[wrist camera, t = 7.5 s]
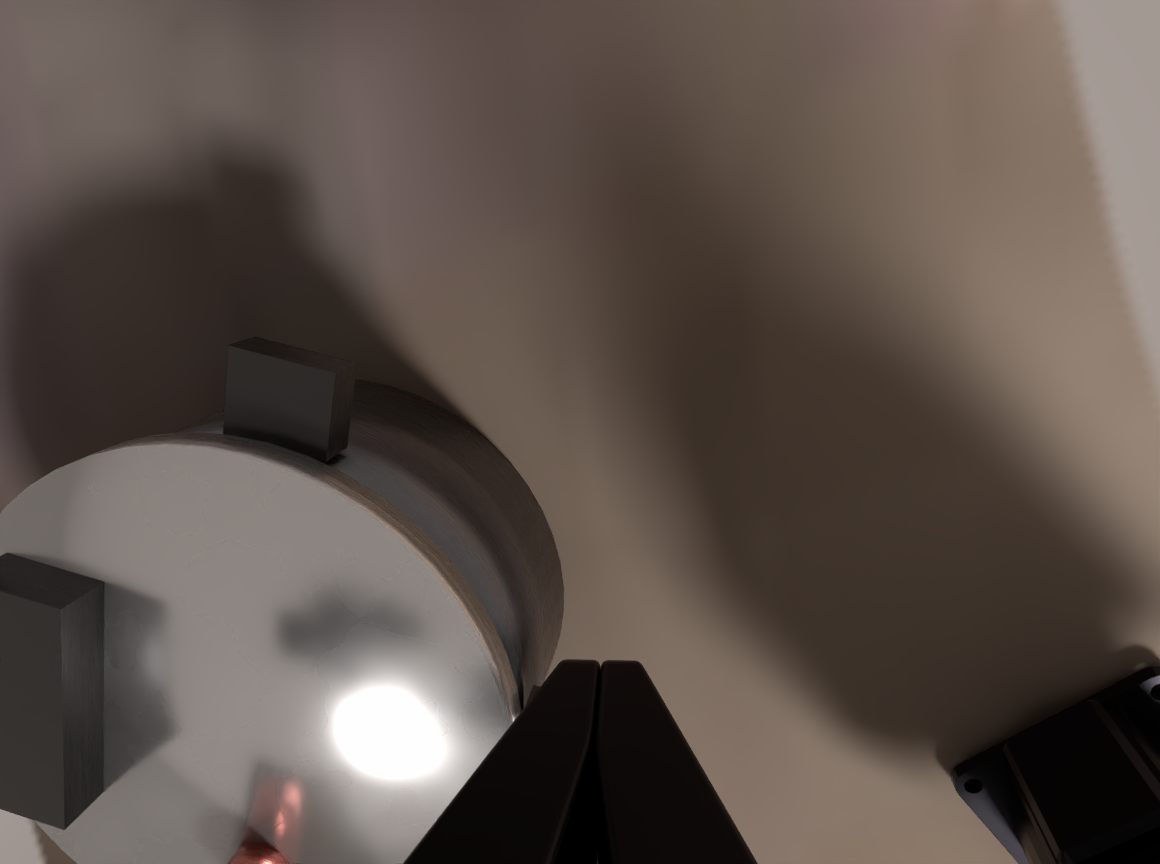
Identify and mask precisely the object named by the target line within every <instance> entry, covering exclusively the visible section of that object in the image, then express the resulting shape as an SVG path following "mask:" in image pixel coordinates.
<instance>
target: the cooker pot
mask: <svg viewBox="0 0 1160 864" xmlns="http://www.w3.org/2000/svg"><path fill="white" fill-rule="evenodd" d="M356 368H357V363H355V362H351V361H347V360H343V359H339V358H336V357H332V356H328V355H324V354H320V353H316V352H312V351H309V350H305V349H301V348H297V347H293V346H289V345H285V344H281V343H278V342H274V341H270V340H266V339H262V338H258V337H253V338H250V339H247V340H244V341H241V342H237V343H234V344H231V345H228V357H227V374H226V391H225V408H224V411H222V412H220V413H217V414H215V415H213V416H211V417H208V418H206V419H204V420H202V421H199V422H197V423H195V424H193V425H190V426H188V427H186V428H184V429H181V430H179V431H177V432H175V433H184V432H200V433H214V434H228V435H234V436H239V437H244V438H249V439H254V440H259V441H264V442H269V443H272V444H275V445H278V446H280V447H283V448H286V449H289V450H292V451H295V452H298V453H301V454H304V455H307V456H309V457H311V458H314V459H316V460H318V461H320V462H322V463H324V464H326V465H328V466H330V467H333V468H335V469H337V470H339V471H341V472H343V473H345V474H347V475H348V476H350V477H352V478H353V479H355V480H356V481H358V482H360V483H361V484H363V485H364V486H366V487H368V488H369V489H371V490H372V491H374V492H376V493H377V494H379V495H380V496H382V497H383V498H384V499H386V500H387V501H388V502H389V503H391V504H392V505H393V506H394V507H396V508H397V509H398V510H399V511H401V512H402V513H403V514H405V515H406V516H407V517H408V518H410V519H411V520H412V521H413V522H415V523H416V524H417V525H418V526H419V527H420V528H421V529H422V530H423V531H424V532H425V533H426V534H427V535H428V536H429V537H430V538H431V539H432V540H433V541H434V542H435V543H436V544H437V545H438V546H439V547H440V548H441V549H442V550H443V551H444V552H445V554H446V555H447V556H448V557H449V559H450V560H451V561H452V562H453V564H454V565H455V566H456V567H457V569H458V570H459V571H460V573H461V574H462V575H463V576H464V578H465V579H466V580H467V581H468V583H469V584H470V585H471V587H472V589H473V590H474V592H475V593H476V595H477V597H478V598H479V600H480V602H481V603H482V605H483V606H484V608H485V610H486V611H487V613H488V615H489V616H490V618H491V620H492V622H493V624H494V626H495V629H496V631H497V633H498V635H499V637H500V639H501V642H502V644H503V646H504V648H505V650H506V653H507V656H508V659H509V662H510V666H511V669H512V672H513V675H514V679H515V682H516V685H517V689H518V695H519V701H520V708H521V711H522V710H523V709H524V707H525V706H526V705H527V704H528V702H529V701H530V700H531V698H532V697H533V696H534V695H535V693H536V692H537V691H538V689H539V688H540V687H541V686H542V684H543V683H544V681H545V678H546V676H547V673H548V670H549V667H550V665H551V662H552V659H553V656H554V653H555V650H556V647H557V644H558V640H559V637H560V632H561V625H562V619H563V610H564V586H563V579H562V572H561V564H560V559H559V556H558V552H557V549H556V545H555V541H554V538H553V535H552V533H551V530H550V528H549V525H548V523H547V521H546V518H545V516H544V514H543V511H542V509H541V508H540V506H539V504H538V503H537V501H536V499H535V497H534V496H533V494H532V492H531V491H530V489H529V487H528V486H527V484H526V483H525V482H524V480H523V479H522V478H521V476H520V475H519V474H518V472H517V471H516V470H515V468H514V467H513V466H512V464H511V463H510V462H509V461H508V460H507V459H506V458H505V457H504V456H503V455H502V454H501V453H500V452H499V451H498V450H497V449H496V448H495V447H494V446H493V445H492V444H491V442H489V441H488V440H487V439H486V438H485V437H483V436H482V435H481V434H480V433H478V432H477V431H476V430H475V429H473V428H472V427H471V426H470V425H469V424H467V423H466V422H464V421H463V420H461V419H460V418H458V417H456V416H455V415H453V414H452V413H450V412H448V411H447V410H445V409H444V408H442V407H440V406H438V405H436V404H434V403H432V402H430V401H427V400H425V399H423V398H421V397H419V396H417V395H415V394H412V393H409V392H406V391H403V390H399V389H396V388H393V387H390V386H387V385H382V384H377V383H372V382H366V381H361V380H355V377H356Z"/></svg>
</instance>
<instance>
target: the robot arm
mask: <svg viewBox="0 0 1160 864" xmlns="http://www.w3.org/2000/svg"><path fill="white" fill-rule="evenodd" d="M1157 684H1160V667H1149V668H1146V669H1143V670H1141V671H1139V672H1137V673H1135V674H1133V675H1131V676H1129V677H1127V678H1125V679H1123V680H1121V681H1119V682H1117V683H1115V684H1114V685H1112V686H1110V687H1108V688H1106V689H1104V690H1102V691H1100V692H1098V693H1096V694H1094V695H1092V696H1090V697H1088V698H1086V699H1084V700H1083V701H1081V702H1079V703H1077V704H1075V705H1073V706H1071V707H1069V708H1067V709H1065V710H1063V711H1061V712H1059V713H1057V714H1055V715H1053V716H1052V717H1050V718H1048V719H1046V720H1044V721H1042V722H1040V723H1038V724H1036V725H1034V726H1032V727H1030V728H1028V729H1026V730H1024V731H1022V732H1020V733H1019V734H1017V735H1015V736H1013V737H1011V738H1009V739H1007V740H1005V741H1003V742H1001V743H999V744H997V745H995V746H993V747H991V748H989V749H988V750H986V751H984V752H982V753H980V754H978V755H976V756H974V757H972V758H970V759H968V760H966V761H964V762H962V763H960V764H959V765H957V766H956V767H955V768H954V769H953V771H952V773H951V779H952V782H953V784H954V787H955V789H956V791H957V793H958V794H959V796H960V797H961V798H962V799H963V800H964V801H965V802H966V804H967V805H968V806H969V807H970V808H971V809H972V810H973V812H974V813H975V814H976V815H977V816H978V817H979V819H980V820H981V821H982V822H983V823H984V824H985V825H986V827H987V828H988V829H989V830H990V831H991V832H992V833H993V835H994V836H995V837H996V838H997V839H998V840H999V841H1000V843H1001V844H1002V845H1003V846H1004V847H1005V848H1006V849H1007V851H1008V852H1009V853H1010V854H1011V855H1012V856H1013V857H1014V859H1015V860H1016V861H1017V862H1018V863H1019V864H1160V689H1159V690H1156V691H1151V689H1152V688H1153V687H1154V686H1155V685H1157ZM969 779H978V780H977V781H976V782H974V783H965V782H966V781H967V780H969ZM403 864H758V863H757V862H756V860H755V858H754V856H753V855H752V853H751V851H750V849H749V848H748V846H747V844H746V843H745V841H744V839H743V837H742V836H741V834H740V832H739V831H738V829H737V827H736V825H735V824H734V822H733V820H732V818H731V817H730V815H729V813H728V812H727V810H726V808H725V806H724V805H723V803H722V801H721V799H720V798H719V796H718V794H717V793H716V791H715V789H714V787H713V786H712V784H711V782H710V781H709V779H708V777H707V775H706V774H705V772H704V770H703V768H702V767H701V765H700V763H699V762H698V760H697V758H696V756H695V755H694V753H693V751H692V750H691V748H690V746H689V744H688V743H687V741H686V739H685V737H684V736H683V734H682V732H681V731H680V729H679V727H678V725H677V724H676V722H675V720H674V718H673V717H672V715H671V713H670V712H669V710H668V708H667V706H666V705H665V703H664V701H663V700H662V698H661V696H660V694H659V693H658V691H657V689H656V687H655V686H654V684H653V682H652V681H651V679H650V677H649V675H648V674H647V672H646V670H645V669H644V667H643V666H642V664H641V663H640V662H638V661H624V660H607V661H605V662H603V664H602V665H601V667H600V664H599V662H597V661H596V660H575V659H566V660H563V661H561V662H560V663H559V664H558V665H557V666H556V668H555V669H554V670H553V672H552V673H551V674H550V675H549V677H548V678H547V679H546V681H545V682H544V683H543V684H542V686H541V687H540V688H539V689H538V691H537V692H536V693H535V695H534V696H533V697H532V698H531V700H530V701H529V702H528V704H527V705H526V706H525V707H524V709H523V710H522V711H521V713H520V714H519V715H518V716H517V718H516V719H515V720H514V722H513V723H512V724H511V725H510V727H509V728H508V729H507V730H506V732H505V733H504V734H503V736H502V737H501V738H500V739H499V741H498V742H497V743H496V745H495V746H494V747H493V748H492V750H491V751H490V752H489V754H488V755H487V756H486V757H485V759H484V760H483V761H482V762H481V764H480V765H479V766H478V768H477V769H476V770H475V771H474V773H473V774H472V775H471V777H470V778H469V779H468V780H467V782H466V783H465V784H464V786H463V787H462V788H461V789H460V791H459V792H458V793H457V794H456V796H455V797H454V798H453V800H452V801H451V802H450V803H449V805H448V806H447V807H446V809H445V810H444V811H443V812H442V814H441V815H440V816H439V817H438V819H437V820H436V821H435V823H434V824H433V825H432V826H431V828H430V829H429V830H428V832H427V833H426V834H425V835H424V837H423V838H422V839H421V841H420V842H419V843H418V844H417V846H416V847H415V848H414V849H413V851H412V852H411V853H410V855H409V856H408V857H407V858H406V860H405V861H404V862H403Z"/></svg>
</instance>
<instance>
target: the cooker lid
mask: <svg viewBox="0 0 1160 864" xmlns="http://www.w3.org/2000/svg"><path fill="white" fill-rule="evenodd" d="M520 713H521V708H520V701H519V695H518V689H517V685H516V682H515V679H514V675H513V672H512V669H511V666H510V662H509V659H508V656H507V653H506V650H505V648H504V646H503V644H502V642H501V639H500V637H499V635H498V633H497V631H496V629H495V626H494V624H493V622H492V620H491V618H490V616H489V615H488V613H487V611H486V610H485V608H484V606H483V605H482V603H481V602H480V600H479V598H478V597H477V595H476V593H475V592H474V590H473V589H472V587H471V585H470V584H469V583H468V581H467V580H466V579H465V578H464V576H463V575H462V574H461V573H460V571H459V570H458V569H457V567H456V566H455V565H454V564H453V562H452V561H451V560H450V559H449V557H448V556H447V555H446V554H445V552H444V551H443V550H442V549H441V548H440V547H439V546H438V545H437V544H436V543H435V542H434V541H433V540H432V539H431V538H430V537H429V536H428V535H427V534H426V533H425V532H424V531H423V530H422V529H421V528H420V527H419V526H418V525H417V524H416V523H415V522H413V521H412V520H411V519H410V518H408V517H407V516H406V515H405V514H403V513H402V512H401V511H399V510H398V509H397V508H396V507H394V506H393V505H392V504H391V503H389V502H388V501H387V500H386V499H384V498H383V497H382V496H380V495H379V494H377V493H376V492H374V491H372V490H371V489H369V488H368V487H366V486H364V485H363V484H361V483H360V482H358V481H356V480H355V479H353V478H352V477H350V476H348V475H347V474H345V473H343V472H341V471H339V470H337V469H335V468H333V467H330V466H328V465H326V464H324V463H322V462H320V461H318V460H316V459H314V458H311V457H309V456H307V455H304V454H301V453H298V452H295V451H292V450H289V449H286V448H283V447H280V446H278V445H275V444H272V443H269V442H264V441H259V440H254V439H249V438H244V437H239V436H234V435H228V434H214V433H200V432H184V433H170V434H156V435H151V436H147V437H142V438H138V439H133V440H129V441H124V442H121V443H118V444H116V445H113V446H111V447H108V448H106V449H103V450H101V451H98V452H96V453H93V454H91V455H89V456H86V457H84V458H81V459H79V460H77V461H74V462H72V463H70V464H67V465H65V466H63V467H60V468H58V469H56V470H54V471H52V472H51V473H49V474H48V475H46V476H44V477H43V478H41V479H39V480H38V481H36V482H34V483H33V484H31V485H30V486H28V487H27V488H26V489H25V490H24V491H22V492H21V493H20V494H19V495H18V496H17V497H16V498H15V499H14V500H12V501H11V502H10V503H9V504H8V505H7V506H6V507H5V508H4V509H3V510H2V512H1V513H0V809H2V810H5V811H9V812H11V813H14V814H17V815H20V816H23V817H26V818H29V819H32V820H35V821H36V823H37V824H38V825H39V826H40V827H41V828H42V829H43V831H44V832H45V833H46V834H47V835H48V836H49V837H50V838H51V839H52V840H53V841H54V842H55V843H56V844H57V845H58V846H59V847H60V848H61V849H62V850H63V851H64V852H65V853H66V854H67V855H68V856H69V857H70V858H72V859H73V860H74V861H75V862H76V863H77V864H403V862H404V861H405V860H406V858H407V857H408V856H409V855H410V853H411V852H412V851H413V849H414V848H415V847H416V846H417V844H418V843H419V842H420V841H421V839H422V838H423V837H424V835H425V834H426V833H427V832H428V830H429V829H430V828H431V826H432V825H433V824H434V823H435V821H436V820H437V819H438V817H439V816H440V815H441V814H442V812H443V811H444V810H445V809H446V807H447V806H448V805H449V803H450V802H451V801H452V800H453V798H454V797H455V796H456V794H457V793H458V792H459V791H460V789H461V788H462V787H463V786H464V784H465V783H466V782H467V780H468V779H469V778H470V777H471V775H472V774H473V773H474V771H475V770H476V769H477V768H478V766H479V765H480V764H481V762H482V761H483V760H484V759H485V757H486V756H487V755H488V754H489V752H490V751H491V750H492V748H493V747H494V746H495V745H496V743H497V742H498V741H499V739H500V738H501V737H502V736H503V734H504V733H505V732H506V730H507V729H508V728H509V727H510V725H511V724H512V723H513V722H514V720H515V719H516V718H517V716H518V715H519V714H520Z"/></svg>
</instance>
